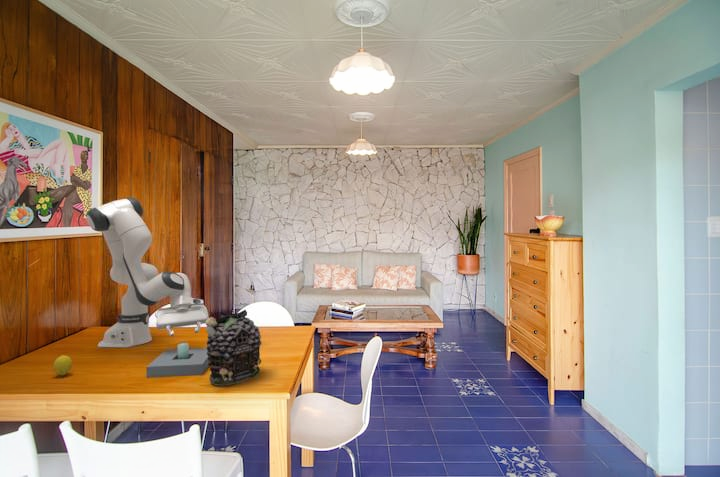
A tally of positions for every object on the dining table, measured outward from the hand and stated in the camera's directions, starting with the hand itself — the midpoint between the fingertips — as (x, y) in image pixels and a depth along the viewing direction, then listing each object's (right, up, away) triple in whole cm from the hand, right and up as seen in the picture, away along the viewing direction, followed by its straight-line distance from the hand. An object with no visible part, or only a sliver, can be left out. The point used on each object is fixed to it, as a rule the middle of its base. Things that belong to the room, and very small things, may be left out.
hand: (184, 334), depth 159 cm
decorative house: (+26, -12, -16) cm, 34 cm away
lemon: (-39, -12, -14) cm, 44 cm away
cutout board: (+2, -12, -4) cm, 13 cm away
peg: (+2, -12, -5) cm, 13 cm away
